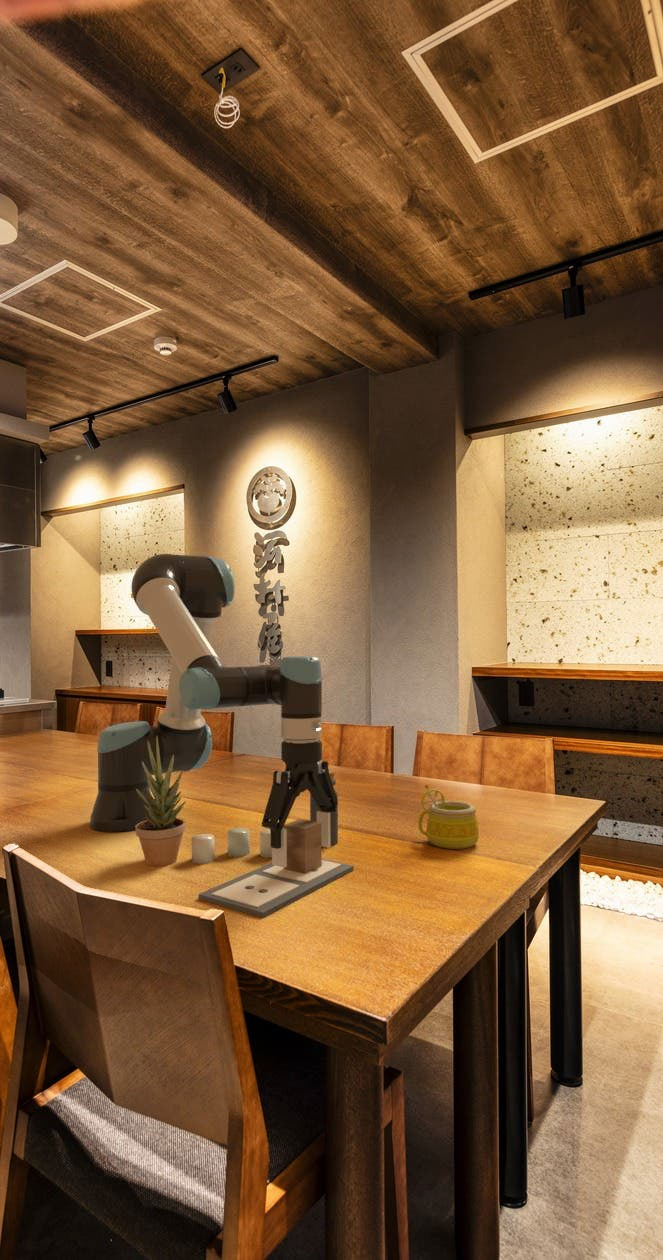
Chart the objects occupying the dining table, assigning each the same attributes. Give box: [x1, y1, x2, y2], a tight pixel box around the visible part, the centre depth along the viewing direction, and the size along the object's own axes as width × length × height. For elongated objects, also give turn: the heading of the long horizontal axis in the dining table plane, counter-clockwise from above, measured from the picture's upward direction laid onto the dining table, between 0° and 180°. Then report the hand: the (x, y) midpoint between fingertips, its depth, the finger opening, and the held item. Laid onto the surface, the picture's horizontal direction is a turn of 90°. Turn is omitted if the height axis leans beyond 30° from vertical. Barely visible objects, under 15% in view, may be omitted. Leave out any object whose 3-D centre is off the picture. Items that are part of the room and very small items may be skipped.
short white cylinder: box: [259, 828, 272, 859], centre depth 136 cm, size 4×4×4 cm
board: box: [198, 858, 354, 918], centre depth 119 cm, size 14×26×1 cm, turn 146°
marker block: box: [283, 818, 323, 874], centre depth 125 cm, size 5×5×8 cm
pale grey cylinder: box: [191, 833, 215, 865], centre depth 133 cm, size 4×4×4 cm
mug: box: [417, 784, 480, 850], centre depth 143 cm, size 13×11×12 cm
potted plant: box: [135, 737, 187, 867], centre depth 132 cm, size 10×10×25 cm
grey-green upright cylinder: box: [227, 827, 251, 858], centre depth 137 cm, size 4×4×4 cm
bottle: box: [309, 769, 339, 846], centre depth 144 cm, size 6×6×15 cm
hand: (302, 855), depth 125 cm, fingers open, 13 cm apart
